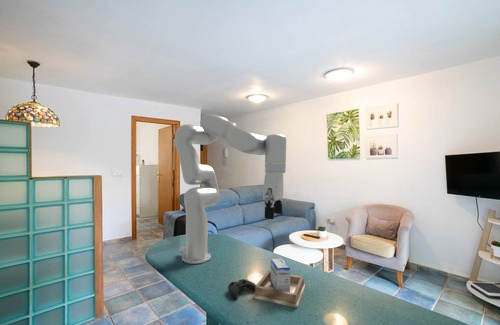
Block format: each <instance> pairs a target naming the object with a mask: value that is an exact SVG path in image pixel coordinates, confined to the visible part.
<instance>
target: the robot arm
mask: <svg viewBox="0 0 500 325" xmlns="http://www.w3.org/2000/svg"><path fill="white" fill-rule="evenodd" d="M199 124H200V126H199V125H195V124H190V123H189V124H186V123H185V124H182V125H180V126H179V127H178V128H177V129H176V131H175V134H174V145H175V149H176V151H177V154H178V157H179V163H180V168H181V173H182V178H183V181H184V183H185V184H187V185H189V186H194V187H192V188H189V189H188V190H186V192H185V193H184V196H183V203H184V207H185V208H184V209H185V246H182V245H181V246H180V247H179V248H180V249H179V250H178V251H179V253H183V255H182V256H181V261H182V262H183V261H184V263H185V262H186V264H191V265H192V264H194V265H196V264H197V265H198V264H202V263H205V262H206V263H207V262H208V261H210V259H211V258H212V256H211V253H210V252H208V239H209V238H208V235H209V234H208V232H209V224H208V222H209V221H208V214H207V212H206V209H205V208H210V207H214V206H216V205H217V204H218V203H219V201H220V189H219V185H218V181H217V180H218V179H217V175H216V172H215V170H214V168H213V167H212V166H211V165H208V164H205V163H204V164H201V162H200V159H199V154H198V152H197V150H196V149H195V147H194V146H193V145H200V146H201V145H202V146H207V145H210V144H212V143H214V142H216V141H217V140H221V141H224V142H225V143H226V144H227V145H228V147H231V148H232V149H235V150H237V151H240V152H242V153H244V154H248V155H255V156H256V155H257V156H264V179H263V187H262V189H263V190H262V200H263V202H264V219H267V220H274V217H275V215H278V214H279V215H282V214H283V198H284V174H286V167H287V166H286V165H287V162H286V161H287V160H286V159H287V137H286V136H285V135H283V134H280V133H279V134H275V133H274V134H273V133H271V134H268V135H261V134H257V133H253V132H249V131H247V130H244V129H241V128H239V127H238V126H237V123H236V122H234V121H231V120H228V119H227V118H226V117H224V116H221V115H217V114H214V113H213V114H212V113H206V114H205V115H203V116H202V117H201V119H200V121H199ZM197 185H200V186H199V187H198V186H197ZM195 186H197V187H195Z"/></svg>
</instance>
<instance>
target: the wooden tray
mask: <svg viewBox="0 0 500 325" xmlns="http://www.w3.org/2000/svg"><path fill="white" fill-rule="evenodd" d="M270 280H271V270H267V271H266V272H265V273H264V275H263V276H262V278H261V279H260V280H259V282H257V284H255V285H256V287H255V292H253V293H254V294H253V295H252V298H253V299H256V300H262V301H265V302H269V303H275V304H278V305H282V306H283V305H284V306H288V307H291V308H296V309H298V308H299V304H300V303H301V300H302V297H303V294H304V291H305V289H306V283H305V277H304V276H300V275H294V274H290V292H286V291H281V290H276V289H273V287H272V285H271V284H270Z"/></svg>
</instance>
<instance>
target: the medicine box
mask: <svg viewBox="0 0 500 325" xmlns="http://www.w3.org/2000/svg"><path fill="white" fill-rule="evenodd" d="M270 271H271V280H270V284H271V285H272V287H273V289H276V290H281V291H286V292H290V275H291V266H289V265H288V263H286V261H285V260H284V259H283V258H271V259H270Z"/></svg>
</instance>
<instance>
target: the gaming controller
mask: <svg viewBox="0 0 500 325" xmlns="http://www.w3.org/2000/svg"><path fill="white" fill-rule="evenodd" d="M256 285H257V284H255V283H254V282H252V281H251V280H248V279H243V278H241V279H239V280H236V281H231V282H230V283H229V284H228V286H227V288H228V292H229V294H230V297H231V298H232V299H233V300H235V301H236V300H238V294H239V291H240V290H243V289H245V288H246V289H248V290H250V291H251V292H252V293H255V287H256Z"/></svg>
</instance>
